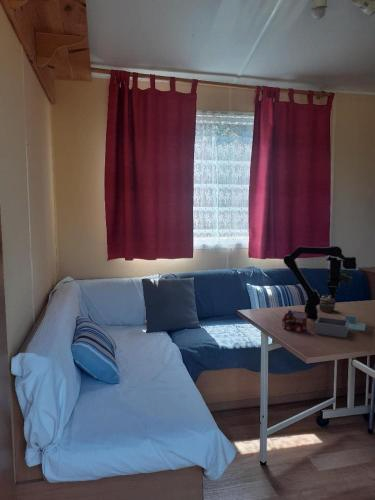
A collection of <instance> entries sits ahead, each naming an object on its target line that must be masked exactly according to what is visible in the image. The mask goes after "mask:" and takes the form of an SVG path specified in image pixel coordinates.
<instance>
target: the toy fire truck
mask: <svg viewBox="0 0 375 500" xmlns="http://www.w3.org/2000/svg"><path fill="white" fill-rule="evenodd" d="M307 317H308V314H307V313H306V312H305V311H296V310H294V311H293V310H291V309H289V310H288V311H287V312H286V313H285V314H284V316H283V318H282V321H281V322H282V323H281V324H282V325H281V326H282V327H284V330H286V331H290V332H291V331H293V329H294V332H296V333H303V331H305V330H307V327H308V326H307V322H308V321H307V319H308V318H307Z"/></svg>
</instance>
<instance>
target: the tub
mask: <svg viewBox="0 0 375 500" xmlns="http://www.w3.org/2000/svg"><path fill="white" fill-rule="evenodd" d="M348 325H349V320H345V319H341V318H334V317H333V318H332V317H326V316H325V317H324V316H318V317H317V318H316V320H315V322H314V334H317V335H325V336H331V337H337V338H344V339H346V338H347V337H348V333H349V329H348Z"/></svg>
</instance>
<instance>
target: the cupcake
mask: <svg viewBox="0 0 375 500" xmlns="http://www.w3.org/2000/svg"><path fill="white" fill-rule="evenodd" d="M318 306H319V311H321V312H324V313H333V312H334V311H335V306H336V299H335V298H332V296H331V294H328V293H326V294H322V296H321V297H320V303H319V305H318Z"/></svg>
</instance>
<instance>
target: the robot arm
mask: <svg viewBox="0 0 375 500" xmlns="http://www.w3.org/2000/svg"><path fill="white" fill-rule="evenodd" d="M301 254H308V255H309V254H311V255H325V256H328V257H327V258H326V261H329V272H328V273H329V277H328V280H327V282H326V287H327V289H328V291H329V295H331V296H332V298H334V299H335V298H336V296H337V294H338V290H339V288H340V286H341V284H342V283H343V282H344V283H347V284H351V281H352V279H353V277H352V276H351V274H350V273H349V272H347V273H342V272H343V271H342V268H344V270H352V271H354V270H357V258H356V256H346V255H345V254H343V250H342V248H341V247H340V246H338V245H331V246H326V247H325V246H324V247H319V246H302V245H300V246H298V247H297V248H296V249H295V250H294V251H292V253H290V254H287V255H285V256H284V258H283V264H284V265H285V266H286V267H287V268H288V269H289V270H290V271H292V273H293V275H294V276H295V278H296V280H297V281H298V282H299V284H300V286H301V287H302V288H303V290H304V292H305V294H306V296H307V297H306V298H307V300H306V301H305V304H304V305H305V306H304V312H306V313H307V314H308V317H307V319H309V320H317V319H318V317H319V310H318V307H317V306H319V303H320V299H321V295H320V294H319V292H318V290H317V289H313V288H312V287H311V285H310V284H309V282H308V280H307V279H306V278H305V276H304V275H303V273H302V271H301V270H300V268H299V267H298V263H297V261H296V259H297V258H299V256H301ZM338 258H339V259H338Z"/></svg>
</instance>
